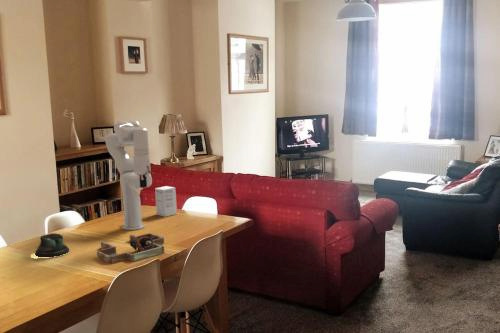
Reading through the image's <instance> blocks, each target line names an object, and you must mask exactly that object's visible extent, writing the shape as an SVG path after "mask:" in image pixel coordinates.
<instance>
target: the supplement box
mask: <svg viewBox="0 0 500 333" xmlns="http://www.w3.org/2000/svg"><path fill="white" fill-rule="evenodd" d="M154 190H155V191H154V192H155V208H156V209H155V210H156V215H158V216H161V217H164V218H165V217H169V216H174V215H177V214H178V211H177V210H178V208H177V193H176V192H177V191H176V187H174V186H169V185H165V186H161V187H155V189H154Z"/></svg>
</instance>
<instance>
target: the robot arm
mask: <svg viewBox="0 0 500 333" xmlns="http://www.w3.org/2000/svg"><path fill="white" fill-rule="evenodd" d="M113 131H114V132H113V133H109V134H107V136H106V137H105V146H106V148H107V151H108V153H109V155H110V156H111V157H112V158H113V159H114V162H115V165H116V168H117V170H118V173H119V174H120V177H119V182H120V183H119V184H120V187H121V192H122V203H123V204H122V206H123V219H122V222H123V224H122V225H121V229H122V230H125V231H136V230H141V229H143V228H145V223H143V222H142V220H143V219H142V205H141V204H142V202H141V196H140V193H138V191H136V190H137V189H143V188H150V187H151V186H152V183H153V178H152V175H151V170H152V169H151V168H152V167H151V162H150V161H151V160H150V159H151V158H150V148H149V131H148V129H147V128H145V127H143V126H141V124H140V123H139V121H138V120H135V119H134V120H120V121H116V123H115V124H114V125H113ZM124 147H133V154H134V155H133V158H132V157H130V156H129V153H128V152H127V151H126V150H125V149H123V148H124Z"/></svg>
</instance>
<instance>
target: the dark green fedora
mask: <svg viewBox="0 0 500 333" xmlns="http://www.w3.org/2000/svg"><path fill="white" fill-rule="evenodd" d="M34 252H35V255H36V256H38V257H54V256H60V255H63V254H66V253H67V254H69V253H70V248H69V247H68V245H67V244H65V243H64V236H63V235H62V234H59V233H48V234H44V235H41V236H40V243H39V245H38V247H37V249H36V250H35V251H34ZM68 252H69V253H68ZM67 254H66V255H67ZM63 256H64V255H63ZM60 257H61V256H60Z"/></svg>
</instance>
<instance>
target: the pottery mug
mask: <svg viewBox="0 0 500 333" xmlns="http://www.w3.org/2000/svg"><path fill="white" fill-rule="evenodd" d="M148 240H150V241H151V245H148V244H146V242H147V241H148ZM129 245H130V247H131V248H133V249H134V250H135V251H139V252H143V251H146V250H150V249H153V247H154V244H153V240H152V239H151V238H149V237H141V238H139V239H138V240H131V241H130V240H129Z"/></svg>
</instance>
